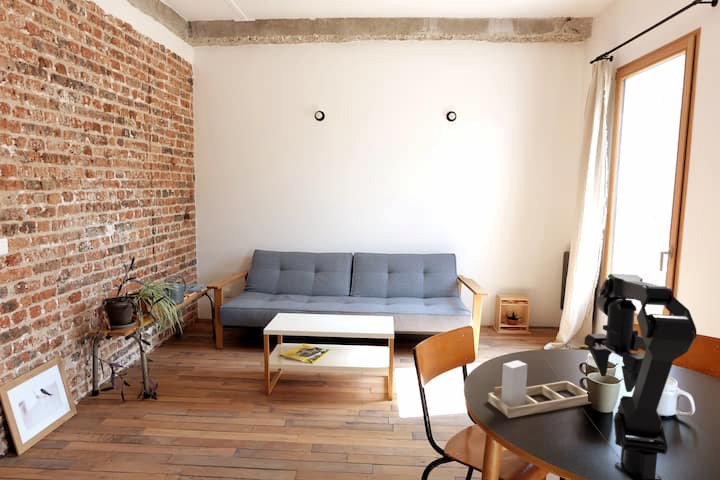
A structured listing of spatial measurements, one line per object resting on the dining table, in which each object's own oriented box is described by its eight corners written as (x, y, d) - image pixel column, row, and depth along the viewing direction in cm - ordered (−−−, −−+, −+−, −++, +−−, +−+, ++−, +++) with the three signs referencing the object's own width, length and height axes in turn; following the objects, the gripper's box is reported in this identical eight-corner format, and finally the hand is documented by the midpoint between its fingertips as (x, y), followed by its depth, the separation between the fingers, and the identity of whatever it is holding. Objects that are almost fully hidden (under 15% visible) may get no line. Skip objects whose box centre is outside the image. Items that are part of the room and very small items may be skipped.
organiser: (592, 403, 131) (593, 389, 131) (509, 418, 122) (509, 404, 122) (566, 388, 141) (567, 376, 140) (487, 401, 132) (488, 388, 131)
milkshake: (606, 384, 144) (608, 354, 142) (588, 382, 145) (590, 352, 144) (601, 378, 148) (603, 349, 147) (584, 377, 149) (586, 348, 148)
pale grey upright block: (525, 406, 129) (527, 364, 127) (510, 411, 125) (512, 368, 124) (515, 401, 132) (517, 360, 130) (500, 406, 128) (502, 364, 127)
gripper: (680, 334, 104) (674, 398, 106) (622, 312, 123) (618, 367, 124) (637, 336, 103) (631, 401, 104) (585, 313, 121) (581, 369, 123)
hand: (615, 383), depth 114 cm, fingers open, 9 cm apart
